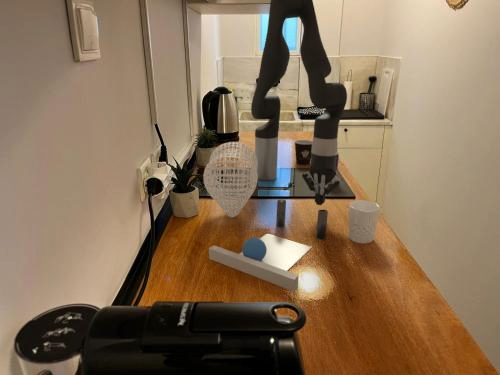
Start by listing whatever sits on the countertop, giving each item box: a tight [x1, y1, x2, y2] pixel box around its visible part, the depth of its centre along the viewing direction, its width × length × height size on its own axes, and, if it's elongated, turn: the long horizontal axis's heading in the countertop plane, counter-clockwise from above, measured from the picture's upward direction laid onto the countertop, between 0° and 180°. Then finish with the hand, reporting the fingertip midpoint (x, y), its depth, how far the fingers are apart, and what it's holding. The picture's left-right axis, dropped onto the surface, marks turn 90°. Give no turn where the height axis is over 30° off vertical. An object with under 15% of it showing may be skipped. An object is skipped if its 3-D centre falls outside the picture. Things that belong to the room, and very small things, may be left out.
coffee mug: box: [294, 139, 313, 166], centre depth 174 cm, size 12×9×10 cm
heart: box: [202, 141, 258, 218], centre depth 116 cm, size 28×16×22 cm, turn 179°
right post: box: [315, 209, 329, 240], centre depth 106 cm, size 3×3×8 cm
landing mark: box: [239, 233, 313, 272], centre depth 100 cm, size 14×14×1 cm
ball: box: [241, 237, 266, 261], centre depth 94 cm, size 6×6×6 cm
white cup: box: [347, 199, 381, 245], centre depth 105 cm, size 8×8×10 cm
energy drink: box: [328, 151, 340, 185], centre depth 150 cm, size 5×5×12 cm
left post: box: [275, 198, 287, 229], centre depth 113 cm, size 3×3×8 cm
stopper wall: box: [208, 245, 300, 292], centre depth 90 cm, size 24×2×3 cm, turn 56°
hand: (319, 204), depth 120 cm, fingers closed
